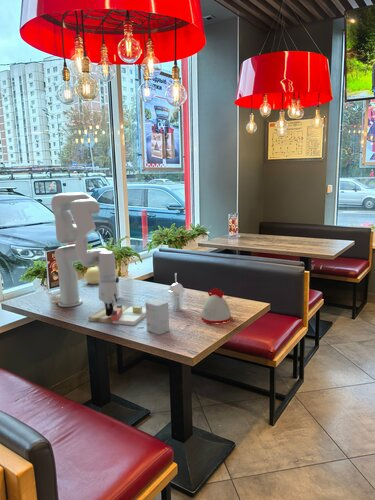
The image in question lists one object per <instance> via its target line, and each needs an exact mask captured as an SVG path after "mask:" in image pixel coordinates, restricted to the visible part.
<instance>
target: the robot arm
mask: <svg viewBox="0 0 375 500" xmlns="http://www.w3.org/2000/svg"><path fill="white" fill-rule="evenodd" d="M50 204H51V210H52V213H53V216H54V220H55V221H54V223H55V225H54V226H55V234H56V241H57V242H58V244H63V245H61V246H59V247H58V248H56V249H55V251H54V259H55V262H56V266H57V274H58V275H57V276H58V283H59V294H56V296H55V297H54V299H55V300H58V302H57V305H58V306H59V307H61V308H62V307H63V308H70V307H77V306H80V305H81V304H82V303H83V299H82V298H80V291H79V281H78V271H77V269H76V267H75V266H74V265H73V264H74V263H80V265H82V266H83V267H85V268H86V267H87V268H90V267H94V266H98V267H99V283H98V299H99V301H101V302H103V303H104V307H106V316H111V314H112V311H113V307H114V306H117V302H118V300H119V299H118V293H117V285H116V276H117V273H116V255H115V252H114V251H112V250H108V249H106V248H103V247H101V248H100V247H99V248H94V249H93V248H91V249H89V242H88V236H89V235H91V234H92V233H94V231H96V228H97V227H96V224H95V221H94V219H93V217H95V216H98V215H99V214H100V212H101V206H100V204H99V203H98V200H96V199H95V198H94V197H92V196H91V195H89V194H87V193H85V192H65V193H63V192H62V193H57V194H55V195H53V197H52V198H51V201H50ZM73 221H74V223H73ZM73 243H74V244H73ZM65 244H69V245H65Z"/></svg>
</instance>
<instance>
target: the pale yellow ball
mask: <svg viewBox="0 0 375 500" xmlns="http://www.w3.org/2000/svg"><path fill="white" fill-rule="evenodd" d="M85 280H86V282H87V283H88V284H89V285H96V284H99V266H98V265H94V266H89V267H87V271H86V272H85Z"/></svg>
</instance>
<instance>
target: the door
mask: <svg viewBox="0 0 375 500" xmlns="http://www.w3.org/2000/svg"><path fill="white" fill-rule="evenodd" d="M128 307H129V308H128V309H126V310H125V311H124V312H122V315H121V316H120V318H119V320H118V321H113V323H112V324H118V325H128V326H135V325H137V324H138V323H139V322H140V321H141V320H142V319H144V318H145V317H146V307H143V306H140V305H133V306H128Z"/></svg>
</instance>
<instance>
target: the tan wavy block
mask: <svg viewBox="0 0 375 500" xmlns="http://www.w3.org/2000/svg"><path fill="white" fill-rule="evenodd" d="M129 307H130V306H127V305H126V306H124V305H122V304H118V305H117V304H116V306H114V307H113V311H114V310H115V308H122V312H124V311H125V310H126V309H128V308H129ZM88 321H89V322H99V323H108V324H114V323H113V321H111V316H106V307H105V306H104V307H103V308H101V309H99V310H97V311H96V312H94V313H92V314H91V315H90V316H88Z"/></svg>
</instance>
